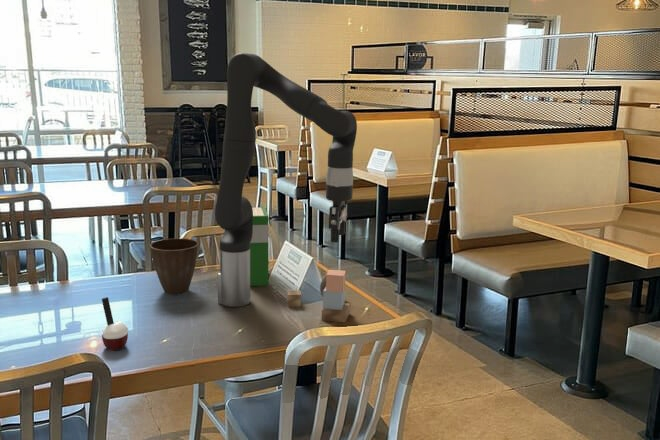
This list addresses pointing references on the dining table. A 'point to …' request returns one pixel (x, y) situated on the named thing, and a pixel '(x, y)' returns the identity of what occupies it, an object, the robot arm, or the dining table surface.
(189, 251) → the plant pot
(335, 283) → the terracotta cube
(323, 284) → the vase
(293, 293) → the maple block
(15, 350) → the dining table surface
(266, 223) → the hardback book
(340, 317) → the walnut slab
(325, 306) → the slate cube
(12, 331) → the dining table surface
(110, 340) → the fishing bobber
